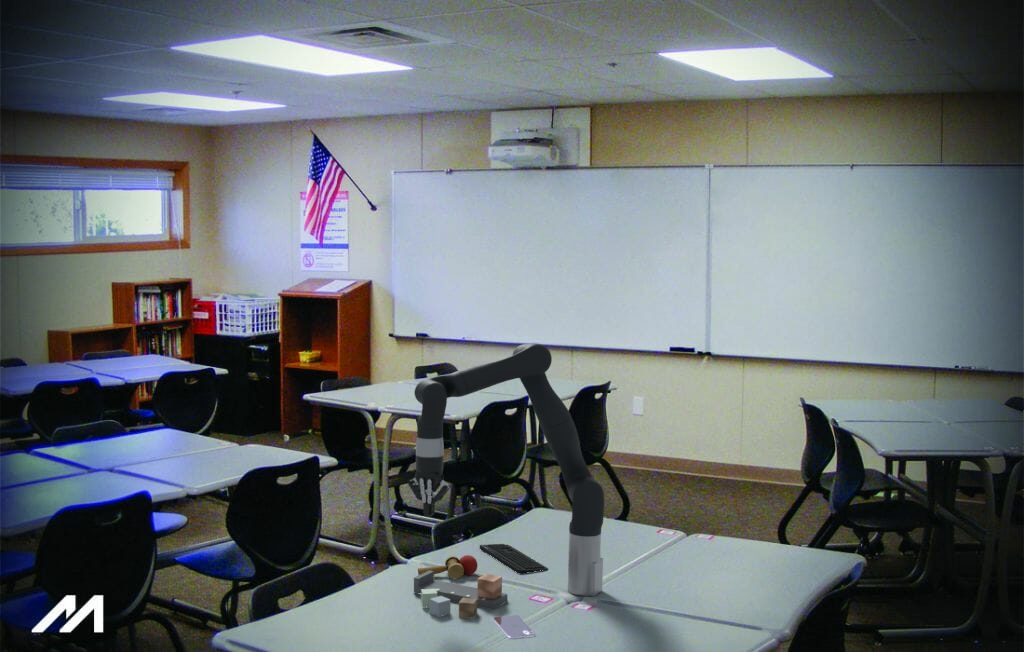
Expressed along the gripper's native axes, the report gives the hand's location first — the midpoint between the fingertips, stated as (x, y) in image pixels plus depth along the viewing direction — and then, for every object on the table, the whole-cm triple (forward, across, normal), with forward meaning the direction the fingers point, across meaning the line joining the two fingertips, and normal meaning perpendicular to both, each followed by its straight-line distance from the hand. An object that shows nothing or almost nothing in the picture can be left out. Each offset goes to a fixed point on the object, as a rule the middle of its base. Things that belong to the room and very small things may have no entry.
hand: (428, 516), depth 271 cm
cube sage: (+25, 0, -1) cm, 25 cm away
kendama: (+25, +9, -25) cm, 37 cm away
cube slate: (+25, -6, +3) cm, 26 cm away
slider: (+23, -14, -11) cm, 29 cm away
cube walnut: (+25, -13, 0) cm, 28 cm away
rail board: (+25, -4, -11) cm, 28 cm away
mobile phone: (+26, -28, +2) cm, 38 cm away
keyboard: (+26, 0, -51) cm, 57 cm away
